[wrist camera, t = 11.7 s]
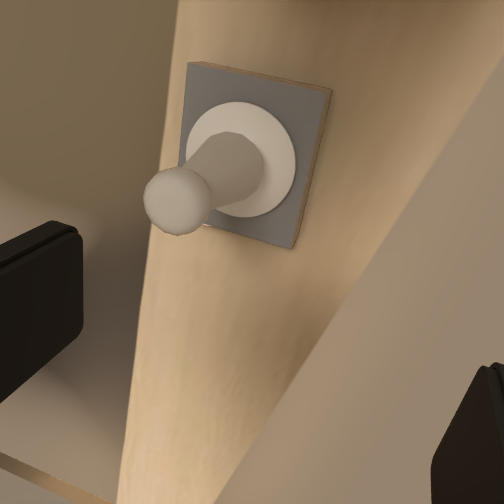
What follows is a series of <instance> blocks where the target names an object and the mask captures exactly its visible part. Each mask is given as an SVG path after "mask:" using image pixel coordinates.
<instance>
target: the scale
mask: <svg viewBox="0 0 504 504" xmlns="http://www.w3.org/2000/svg"><path fill="white" fill-rule="evenodd" d="M331 94H332V89H327V88H323V87H318V86H313V85H309V84H304V83H300V82H295V81H290V80H286V79H281V78H276V77H272V76H267V75H263V74H258V73H253V72H249V71H244V70H239V69H235V68H230V67H226V66H221V65H216V64H212V63H207V62H189V63H187V74H186V85H185V96H184V107H183V117H182V128H181V139H180V150H179V161H178V167H182V166H183V165H184V164H185V163H186V162H187V161H188V160H189V158H190V157H191V156H192V155H193V154H194V153H195V152H196V151H197V150H198V149H199V147H200V146H201V145H202V144H203V143H204V142H205V141H206V140H207V139H208V138H209V137H210V136H211V135H214V134H218V133H221V132H226V131H228V132H233V133H238V134H242V135H244V136H245V137H246V138H248V139H249V140H250V141H251V142H253V143H254V144H255V145H256V147H257V149H258V151H259V153H260V155H261V156H262V159H263V173H264V174H263V177H262V179H261V182H260V184H259V187H258V189H257V190H256V191H255V192H254V193H253V194H252V195H250V196H249V197H248V198H247V199H245V200H242V201H239V202H235V203H232V204H229V205H226V206H223V207H219V208H216V209H213V210H210V213H209V216H208V219H207V220H206V221H205V222H204V223H203V224H202V225H204V226H213V227H216V228H220V229H223V230H226V231H230V232H233V233H236V234H240V235H243V236H246V237H250V238H253V239H257V240H260V241H263V242H267V243H270V244H273V245H277V246H280V247H283V248H287V249H291V248H292V246H293V244H294V243H295V241H296V239H297V238H298V234H299V230H300V225H301V221H302V217H303V213H304V208H305V204H306V200H307V196H308V191H309V187H310V183H311V179H312V175H313V170H314V166H315V162H316V158H317V153H318V149H319V145H320V141H321V136H322V132H323V128H324V124H325V119H326V115H327V111H328V107H329V102H330V98H331Z"/></svg>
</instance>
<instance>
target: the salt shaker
mask: <svg viewBox="0 0 504 504" xmlns="http://www.w3.org/2000/svg"><path fill="white" fill-rule="evenodd" d="M263 174H264V173H263V159H262V156H261V155H260V153H259V151H258V149H257V147H256V145H255V144H254V143H253V142H251V141H250V140H249V139H248V138H246V137H245V136H244V135H242V134H238V133H233V132H228V131H226V132H221V133H218V134H214V135H211V136H210V137H209V138H208V139H207V140H206V141H205V142H204V143H203V144H202V145H201V146H200V147H199V149H198V150H197V151H196V152H195V153H194V154H193V155H192V156H191V157H190V158H189V160H188V161H187V162H186V163H185V164H184V165H183V166H182V167H174V168H170V169H166V170H163V171H160V172H158V173H157V174H156V175H155V177H153V179H152V180H151V181H150V182H149V183H148V184H147V185H146V189H145V192H144V197H143V200H144V205H145V210H146V213H147V214H148V216H149V218H150V219H151V221H152V223H153V224H154V225H155V226H157V227H158V228H159V229H161V230H162V231H163V232H165V233H169V234H172V235H176V236H179V235H183V234H188V233H191V232H193V231H195V230H196V229H197V228H199V227H200V226H201V225H202V224H203V223H204V222H205V221H206V220H207V219H208V216H209V213H210V210H213V209H216V208H219V207H223V206H226V205H229V204H232V203H235V202H239V201H242V200H245V199H247V198H248V197H249V196H250V195H252V194H253V193H254V192H255V191H256V190H257V189H258V187H259V184H260V182H261V179H262V177H263Z"/></svg>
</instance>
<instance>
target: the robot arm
mask: <svg viewBox="0 0 504 504" xmlns="http://www.w3.org/2000/svg"><path fill="white" fill-rule="evenodd" d="M82 328H83V240H82V237H81V236H80V235H79V234H78V231H77V229H76V228H75V227H73V226H70V225H67V224H63V223H61V222H58V221H53V220H52V221H48V222H46V223H44V224H42V225H40V226H38V227H36V228H34V229H32V230H30V231H28V232H26V233H23V234H21V235H19V236H17V237H15V238H13V239H11V240H9V241H7V242H5V243H3V244H1V245H0V403H1V402H2V401H4V400H5V399H6V398H7V397H8V396H9V395H11V394H12V393H13V392H14V391H15V390H16V389H18V388H19V387H20V386H21V385H22V384H23V383H24V382H26V381H27V380H28V379H29V378H30V377H32V376H33V375H34V374H35V373H36V372H37V371H38V370H40V369H41V368H42V367H43V366H44V365H45V364H47V363H48V362H49V361H50V360H51V359H52V358H53V357H55V356H56V355H57V354H58V353H59V352H61V350H63V349H64V348H65V347H66V346H67V345H69V344H70V343H71V342H72V341H73V340H74V339H76V338H77V337H78V335H79V334H80V332H81V330H82ZM431 500H432V504H504V365H503V364H500V363H497V362H495V363H493V364H492V365H491V366H490V367H486V366H481V367H480V368H479V369H478V371H477V373H476V375H475V377H474V379H473V381H472V383H471V385H470V386H469V388H468V390H467V392H466V394H465V396H464V398H463V400H462V402H461V404H460V406H459V408H458V410H457V411H456V413H455V416H454V417H453V419H452V421H451V423H450V425H449V427H448V429H447V431H446V433H445V435H444V437H443V438H442V440H441V442H440V444H439V446H438V448H437V450H436V452H435V454H434V456H433V459H432V464H431ZM0 504H113V503H111V502H108V501H106V500H104V499H102V498H100V497H98V496H95V495H93V494H91V493H89V492H87V491H85V490H82V489H80V488H78V487H76V486H74V485H71V484H69V483H67V482H65V481H63V480H60V479H58V478H56V477H54V476H52V475H50V474H48V473H45V472H43V471H41V470H38V469H36V468H34V467H32V466H30V465H28V464H26V463H24V462H21V461H19V460H17V459H15V458H12V457H10V456H8V455H6V454H4V453H1V452H0Z"/></svg>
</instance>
